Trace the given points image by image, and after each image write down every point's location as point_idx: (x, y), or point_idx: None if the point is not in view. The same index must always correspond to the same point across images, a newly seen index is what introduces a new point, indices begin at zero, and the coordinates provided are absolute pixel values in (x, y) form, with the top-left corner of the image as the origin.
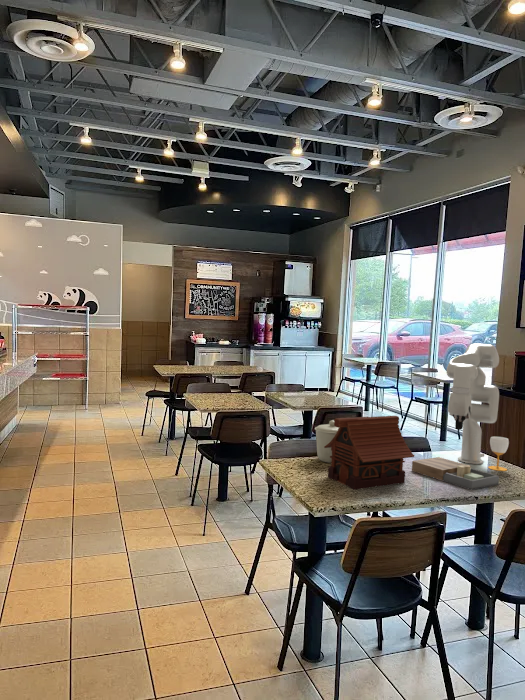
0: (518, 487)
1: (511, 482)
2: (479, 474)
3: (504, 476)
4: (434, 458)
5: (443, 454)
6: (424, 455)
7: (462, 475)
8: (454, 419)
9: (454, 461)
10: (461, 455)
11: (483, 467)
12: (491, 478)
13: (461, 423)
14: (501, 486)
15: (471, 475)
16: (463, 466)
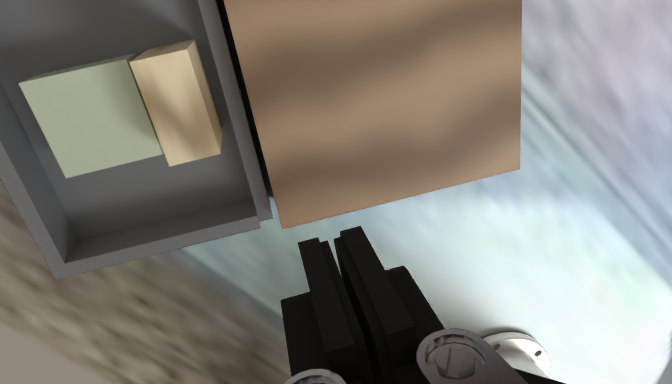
0: (7, 321)
1: (112, 344)
2: (189, 222)
3: (226, 375)
4: (504, 110)
5: (628, 330)
6: (667, 227)
7: (142, 53)
8: (484, 341)
9: (397, 199)
10: (534, 364)
11: None
12: (18, 201)
13: (292, 376)
14: (30, 240)
15: (88, 95)
16: (162, 93)
